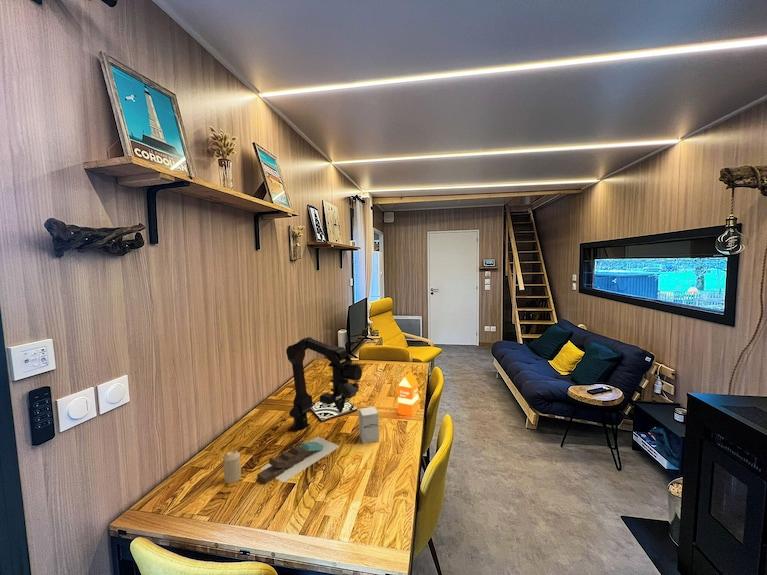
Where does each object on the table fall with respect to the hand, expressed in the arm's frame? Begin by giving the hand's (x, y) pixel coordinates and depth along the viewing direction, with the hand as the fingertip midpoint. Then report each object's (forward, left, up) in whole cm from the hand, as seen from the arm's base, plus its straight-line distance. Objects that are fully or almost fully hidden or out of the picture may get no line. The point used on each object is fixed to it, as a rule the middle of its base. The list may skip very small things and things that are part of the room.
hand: (340, 412), depth 141 cm
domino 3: (-3, -20, -11) cm, 23 cm away
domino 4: (-3, -16, -11) cm, 19 cm away
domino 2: (-3, -29, -11) cm, 31 cm away
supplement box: (+10, +7, -12) cm, 17 cm away
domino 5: (-2, -11, -11) cm, 16 cm away
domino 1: (-3, -25, -11) cm, 27 cm away
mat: (-3, -19, -12) cm, 23 cm away
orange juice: (+10, +39, -12) cm, 42 cm away
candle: (-13, -42, -12) cm, 46 cm away
